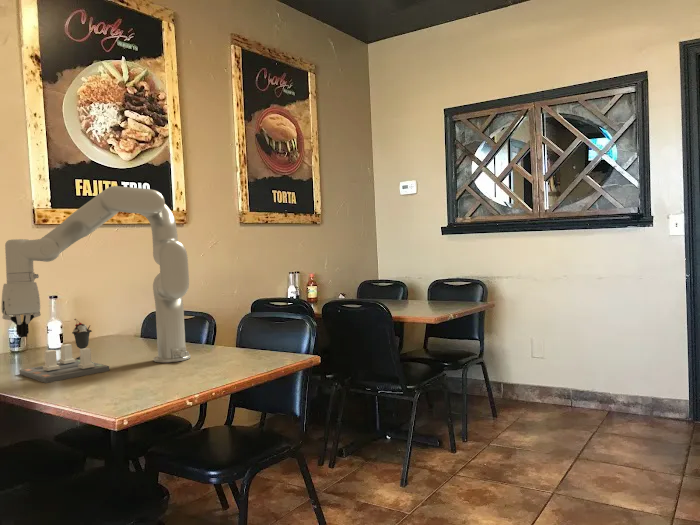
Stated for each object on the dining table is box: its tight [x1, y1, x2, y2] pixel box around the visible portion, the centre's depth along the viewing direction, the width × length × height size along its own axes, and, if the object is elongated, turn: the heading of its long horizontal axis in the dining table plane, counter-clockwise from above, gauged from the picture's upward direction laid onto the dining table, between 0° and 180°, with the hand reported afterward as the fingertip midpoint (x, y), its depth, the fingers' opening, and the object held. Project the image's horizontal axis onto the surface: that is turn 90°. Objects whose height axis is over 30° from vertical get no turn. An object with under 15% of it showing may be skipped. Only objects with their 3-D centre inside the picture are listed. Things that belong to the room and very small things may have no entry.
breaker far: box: [58, 343, 76, 364], centre depth 201 cm, size 4×4×6 cm
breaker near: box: [78, 347, 94, 369], centre depth 191 cm, size 4×4×6 cm
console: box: [19, 359, 110, 384], centre depth 193 cm, size 22×20×2 cm
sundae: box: [71, 318, 93, 360], centre depth 218 cm, size 7×7×15 cm
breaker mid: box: [42, 349, 60, 371], centre depth 190 cm, size 4×4×6 cm
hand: (22, 336), depth 184 cm, fingers closed
